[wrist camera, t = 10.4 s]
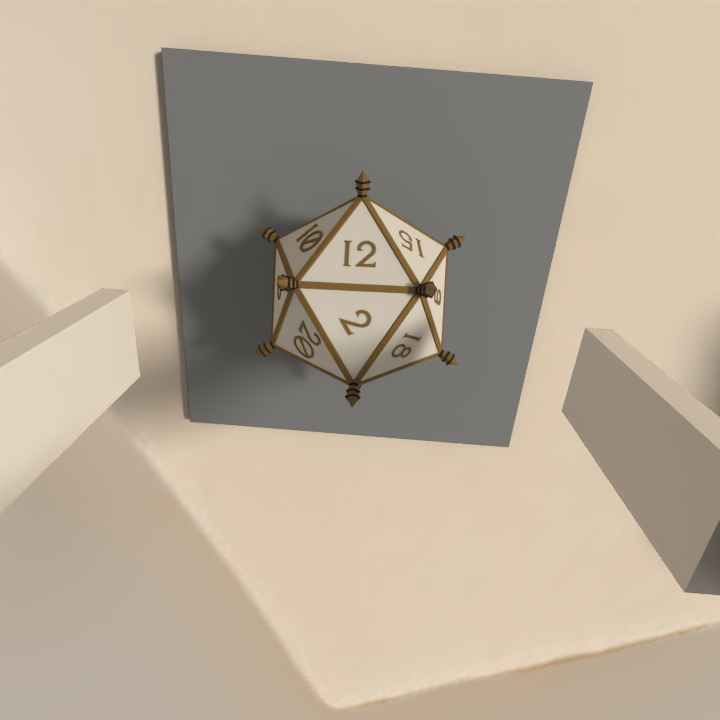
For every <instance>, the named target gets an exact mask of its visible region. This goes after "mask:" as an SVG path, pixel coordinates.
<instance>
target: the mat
mask: <svg viewBox="0 0 720 720" xmlns="http://www.w3.org/2000/svg"><path fill="white" fill-rule="evenodd" d="M161 50H162V63H163V76H164V89H165V102H166V115H167V128H168V141H169V154H170V167H171V180H172V194H173V207H174V220H175V233H176V246H177V259H178V272H179V285H180V298H181V311H182V324H183V337H184V350H185V363H186V376H187V390H188V403H189V416H190V422H201V423H214V424H226V425H238V426H251V427H263V428H276V429H288V430H301V431H313V432H325V433H338V434H350V435H363V436H375V437H387V438H400V439H412V440H425V441H437V442H450V443H462V444H474V445H487V446H499V447H509V443H510V439H511V434H512V430H513V426H514V421H515V417H516V413H517V409H518V404H519V400H520V396H521V391H522V387H523V383H524V378H525V374H526V370H527V365H528V361H529V357H530V352H531V348H532V344H533V340H534V335H535V331H536V327H537V322H538V318H539V314H540V309H541V305H542V301H543V296H544V292H545V288H546V283H547V279H548V275H549V270H550V266H551V262H552V258H553V253H554V249H555V245H556V240H557V236H558V232H559V227H560V223H561V219H562V214H563V210H564V206H565V201H566V197H567V193H568V188H569V184H570V180H571V176H572V171H573V167H574V163H575V158H576V154H577V150H578V145H579V141H580V137H581V132H582V128H583V124H584V119H585V115H586V111H587V107H588V102H589V98H590V94H591V89H592V85H593V82H584V81H572V80H559V79H547V78H535V77H522V76H510V75H497V74H485V73H472V72H460V71H447V70H435V69H422V68H410V67H397V66H385V65H373V64H360V63H348V62H335V61H323V60H310V59H298V58H285V57H273V56H260V55H248V54H236V53H223V52H211V51H198V50H186V49H173V48H161ZM363 170H364V172H365V174H366V176H367V178H368V179H369V180H370V181H371V183H369V188H370V190H368V193H367V197H369V198H371V199H372V200H374V201H376V202H377V203H379V204H380V205H382V206H384V207H385V208H387V209H388V210H390V211H392V212H393V213H395V214H397V215H398V216H400V217H401V218H403V219H405V220H406V221H408V222H409V223H411V224H413V225H414V226H416V227H417V228H419V229H421V230H422V231H424V232H426V233H427V234H429V235H430V236H432V237H434V238H435V239H437V240H438V241H440V242H442V243H443V244H444V243H446V242H447V241H448V238H450V239H451V238H452V237H453V235H455V236H464V237H465V239H464V241H463V242H462V244H461V247H459V248H458V247H457V248H456V249H455V250H449V251H448V262H447V280H446V298H445V316H444V334H443V350H444V351H447V352H448V351H449V352H450V353H451V354H452V355H453V354H454V355H455V358H456V360H457V362H458V364H459V365H446V363H445V362H442V360H441V358H440V357H438V356H436V357H434V358H431V359H428V360H426V361H423V362H420V363H418V364H415V365H413V366H410V367H407V368H405V369H402V370H400V371H397V372H394V373H392V374H389V375H386V376H384V377H381V378H379V379H376V380H373V381H371V382H368V383H365V384H363V385H362V386H361V388H360V389H359V390H360V393H359V396H360V397H361V398H360V399H359V400H358V401H357V402H356V403H355V405H354V406H353V407H351V405H350V403H349V401H347V399H346V398H345V396H346V395H347V393H346V390H347V389H348V387H349V386H348V385H347V384H345V383H343V382H341V381H339V380H337V379H335V378H333V377H331V376H329V375H327V374H325V373H323V372H321V371H319V370H317V369H315V368H313V367H311V366H309V365H307V364H305V363H303V362H301V361H299V360H297V359H295V358H293V357H292V356H290V355H288V354H286V353H284V352H282V351H280V350H278V349H276V348H275V349H273V350H272V351H271V354H267V355H266V357H265V356H258V355H254V354H255V352H256V350H257V349H258V345H263V343H269V342H270V341H271V326H272V301H273V276H274V251H275V243H274V242H271V241H270V242H269V241H268V240H267V239H266V238H265V239H264V238H263V237H262V236H263V235H262V233H261V231H260V229H259V227H261V228H269V227H271V229H272V230H273V231H274V230H275V231H276V234H277V235H278V236H282V235H284V234H286V233H288V232H290V231H292V230H294V229H295V228H297V227H299V226H301V225H303V224H305V223H307V222H309V221H311V220H313V219H314V218H316V217H318V216H320V215H322V214H324V213H326V212H328V211H330V210H332V209H333V208H335V207H337V206H339V205H341V204H343V203H345V202H347V201H349V200H350V199H352V198H354V197H356V196H358V193H357V189H355V187H356V182H355V180H357V179H358V177H359V175H360V174H361V172H362V171H363Z"/></svg>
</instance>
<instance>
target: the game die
mask: <svg viewBox="0 0 720 720" xmlns="http://www.w3.org/2000/svg"><path fill="white" fill-rule="evenodd" d="M355 182H356V187H355V189H357V193H358V196H356V197H354V198H352V199H350V200H349V201H347V202H345V203H343V204H341V205H339V206H337V207H335V208H333V209H332V210H330V211H328V212H326V213H324V214H322V215H320V216H318V217H316V218H314V219H313V220H311V221H309V222H307V223H305V224H303V225H301V226H299V227H297V228H295V229H294V230H292V231H290V232H288V233H286V234H284V235H282V236H278V235H277V234H276V231H275V230H274V231H273V230H272V229H271V227H269V228H261V227H259V229H260V231H261V233H262V235H263V236H262V237H263V238H264V239H265V238H266V239H267V240H268V241H269V242H270V241H271V242H274V243H275V251H274V276H273V301H272V326H271V341H270V342H269V343H263V345H258V349H257V350H256V352H255V354H254V355H258V356H265V357H266V355H267V354H271V351H272V350H273V349H275V348H276V349H278V350H280V351H282V352H284V353H286V354H288V355H290V356H292V357H293V358H295V359H297V360H299V361H301V362H303V363H305V364H307V365H309V366H311V367H313V368H315V369H317V370H319V371H321V372H323V373H325V374H327V375H329V376H331V377H333V378H335V379H337V380H339V381H341V382H343V383H345V384H347V385H348V386H349V387H348V389H347V390H346V393H347V395H346V396H345V398H346V399H347V401H349V403H350V405H351V407H353V406H354V405H355V403H356V402H357V401H358V400H359V399H360V398H361V397H360V396H359V393H360V390H359V389H360V388H361V386H362V385H363V384H365V383H368V382H371V381H373V380H376V379H379V378H381V377H384V376H386V375H389V374H392V373H394V372H397V371H400V370H402V369H405V368H407V367H410V366H413V365H415V364H418V363H420V362H423V361H426V360H428V359H431V358H434V357H436V356H438V357H440V358H441V360H442V362H445V363H446V365H459V364H458V362H457V360H456V358H455V355H454V354H453V355H452V354H451V353H450V352H449V351H448V352H447V351H444V350H443V334H444V316H445V298H446V280H447V262H448V251H449V250H455V249H456V248H457V247H458V248H459V247H461V244H462V242H463V241H464V239H465V237H464V236H455V235H453V237H452V238H451V239H450V238H448V241H447V242H446V243H444V244H443V243H442V242H440V241H438V240H437V239H435V238H434V237H432V236H430V235H429V234H427V233H426V232H424V231H422V230H421V229H419V228H417V227H416V226H414V225H413V224H411V223H409V222H408V221H406V220H405V219H403V218H401V217H400V216H398V215H397V214H395V213H393V212H392V211H390V210H388V209H387V208H385V207H384V206H382V205H380V204H379V203H377V202H376V201H374V200H372V199H371V198H369V197H367V193H368V190H370V188H369V183H371V181H370V180H369V179H368V178H367V176H366V174H365V172H364V170H363V171H362V172H361V174H360V175H359V177H358V179H357V180H355Z"/></svg>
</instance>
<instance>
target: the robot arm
mask: <svg viewBox="0 0 720 720" xmlns="http://www.w3.org/2000/svg"><path fill="white" fill-rule="evenodd" d="M139 377H140V370H139V362H138V354H137V346H136V338H135V331H134V323H133V315H132V307H131V299H130V291H129V290H117V289H104V288H103V289H101V290H99V291H97V292H95V293H93V294H91V295H90V296H88V297H86V298H84V299H82V300H80V301H78V302H76V303H75V304H73V305H71V306H69V307H67V308H65V309H63V310H61V311H59V312H58V313H56V314H54V315H52V316H50V317H48V318H46V319H44V320H43V321H41V322H39V323H37V324H35V325H33V326H31V327H29V328H27V329H26V330H24V331H22V332H20V333H18V334H16V335H14V336H13V337H11V338H9V339H7V340H5V341H3V342H1V343H0V514H1V513H2V512H3V511H4V510H5V509H6V508H7V507H8V506H9V505H10V504H11V503H12V502H13V501H14V500H15V499H16V498H17V497H18V496H19V495H20V494H21V493H22V492H23V491H24V490H25V489H26V488H27V487H28V486H29V485H30V484H31V483H32V482H33V481H34V480H35V479H36V478H37V477H38V476H39V475H40V474H41V473H42V472H43V471H44V470H45V469H46V468H47V467H48V466H49V465H50V464H51V463H53V462H54V461H55V460H56V459H57V458H58V457H59V456H60V455H61V454H62V453H63V452H64V451H65V450H66V449H67V448H68V447H69V446H70V445H71V444H72V443H73V442H74V441H75V440H76V439H77V438H78V437H79V436H80V435H81V434H82V433H83V432H84V431H85V430H86V429H87V428H88V427H89V426H90V425H91V424H92V423H93V422H94V421H95V420H96V419H97V418H98V417H99V416H100V415H101V414H102V413H103V412H105V411H106V410H107V409H108V408H109V407H110V406H111V405H112V404H113V403H114V402H115V401H116V400H117V399H118V398H119V397H120V396H121V395H122V394H123V393H124V392H125V391H126V390H127V389H128V388H129V387H130V386H131V385H132V384H133V383H134V382H135V381H136V380H137V379H138V378H139ZM562 412H563V413H564V415H565V416H566V418H567V419H568V421H569V422H570V424H571V425H572V427H573V428H574V430H575V431H576V433H577V434H578V436H579V437H580V439H581V440H582V442H583V443H584V445H585V446H586V447H587V449H588V450H589V452H590V453H591V455H592V456H593V458H594V459H595V461H596V462H597V464H598V465H599V467H600V468H601V470H602V471H603V473H604V474H605V476H606V477H607V479H608V480H609V482H610V483H611V484H612V486H613V487H614V489H615V490H616V492H617V493H618V495H619V496H620V498H621V499H622V501H623V502H624V504H625V505H626V507H627V508H628V510H629V511H630V513H631V514H632V516H633V517H634V519H635V520H636V521H637V523H638V524H639V526H640V527H641V529H642V530H643V532H644V533H645V535H646V536H647V538H648V539H649V541H650V542H651V544H652V545H653V547H654V548H655V550H656V551H657V553H658V554H659V556H660V557H661V559H662V560H663V561H664V563H665V564H666V566H667V567H668V569H669V570H670V572H671V573H672V575H673V576H674V578H675V579H676V581H677V582H678V584H679V585H680V587H681V588H682V590H683V591H684V592H688V593H700V594H712V595H720V417H719V416H717V415H716V414H715V413H714V412H713V411H711V410H710V409H709V408H708V407H706V406H705V405H704V404H703V403H701V402H700V401H699V400H698V399H697V398H695V397H694V396H693V395H692V394H690V393H689V392H688V391H687V390H685V389H684V388H683V387H682V386H681V385H679V384H678V383H677V382H676V381H674V380H673V379H672V378H671V377H669V376H668V375H667V374H666V373H665V372H663V371H662V370H661V369H660V368H658V367H657V366H656V365H655V364H653V363H652V362H651V361H650V360H649V359H647V358H646V357H645V356H644V355H642V354H641V353H640V352H639V351H637V350H636V349H635V348H634V347H632V346H631V345H630V344H629V343H628V342H626V341H625V340H624V339H623V338H621V337H620V336H619V335H618V334H616V333H615V332H614V331H613V330H607V329H595V328H585V331H584V334H583V338H582V341H581V345H580V349H579V352H578V356H577V359H576V363H575V366H574V370H573V373H572V377H571V380H570V384H569V388H568V391H567V395H566V398H565V402H564V405H563V409H562Z"/></svg>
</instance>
